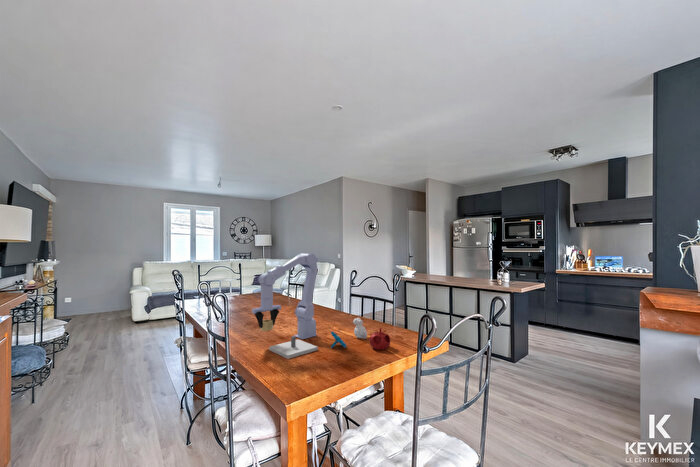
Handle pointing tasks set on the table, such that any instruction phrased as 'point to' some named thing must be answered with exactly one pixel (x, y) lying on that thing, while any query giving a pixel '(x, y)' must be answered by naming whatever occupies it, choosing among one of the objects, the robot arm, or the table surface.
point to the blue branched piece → (337, 340)
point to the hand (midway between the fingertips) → (266, 326)
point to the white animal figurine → (359, 329)
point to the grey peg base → (293, 348)
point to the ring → (267, 325)
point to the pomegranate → (379, 340)
